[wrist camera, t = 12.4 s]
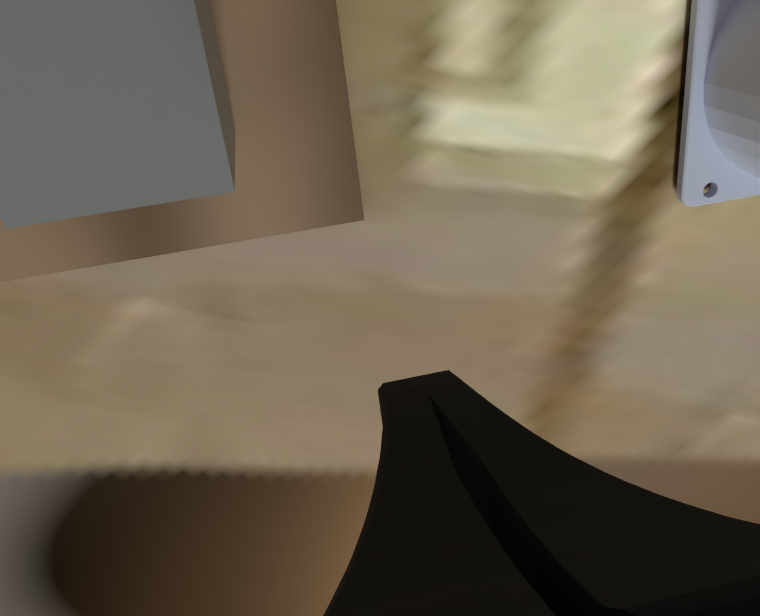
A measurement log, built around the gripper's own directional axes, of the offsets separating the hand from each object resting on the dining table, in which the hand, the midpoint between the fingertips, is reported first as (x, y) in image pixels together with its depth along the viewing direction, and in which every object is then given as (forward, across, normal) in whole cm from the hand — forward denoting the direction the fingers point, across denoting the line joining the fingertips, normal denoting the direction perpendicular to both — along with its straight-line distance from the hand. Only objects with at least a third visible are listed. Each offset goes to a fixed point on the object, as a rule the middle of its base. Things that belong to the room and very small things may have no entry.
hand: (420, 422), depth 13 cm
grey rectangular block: (+10, +5, -6) cm, 12 cm away
